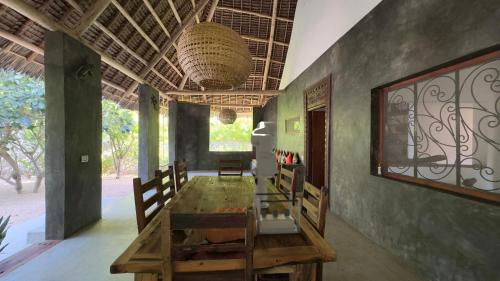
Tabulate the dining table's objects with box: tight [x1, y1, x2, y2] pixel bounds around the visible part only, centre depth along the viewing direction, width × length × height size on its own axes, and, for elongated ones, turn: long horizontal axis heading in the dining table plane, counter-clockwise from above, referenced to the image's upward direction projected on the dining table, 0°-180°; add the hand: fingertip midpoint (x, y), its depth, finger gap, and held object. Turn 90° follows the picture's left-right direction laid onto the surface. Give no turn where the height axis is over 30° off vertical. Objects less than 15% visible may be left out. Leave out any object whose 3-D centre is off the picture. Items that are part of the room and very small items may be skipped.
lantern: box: [181, 210, 209, 245], centre depth 122 cm, size 8×17×30 cm
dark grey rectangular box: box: [272, 209, 279, 217], centre depth 136 cm, size 2×3×4 cm, turn 97°
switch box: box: [260, 213, 295, 230], centre depth 136 cm, size 10×20×6 cm, turn 97°
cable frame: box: [252, 191, 301, 235], centre depth 135 cm, size 17×25×19 cm
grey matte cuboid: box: [283, 208, 289, 216], centre depth 137 cm, size 2×3×4 cm, turn 97°
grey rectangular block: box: [260, 209, 268, 217], centre depth 135 cm, size 2×3×4 cm, turn 97°
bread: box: [205, 206, 258, 244], centre depth 123 cm, size 14×26×16 cm, turn 109°
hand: (264, 184), depth 134 cm, fingers open, 9 cm apart
